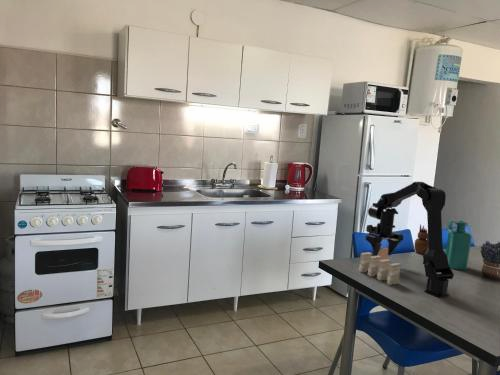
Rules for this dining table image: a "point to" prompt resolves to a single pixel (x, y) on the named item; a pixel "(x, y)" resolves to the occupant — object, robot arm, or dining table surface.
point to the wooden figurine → (421, 241)
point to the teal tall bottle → (458, 245)
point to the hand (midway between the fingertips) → (382, 256)
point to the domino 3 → (383, 253)
